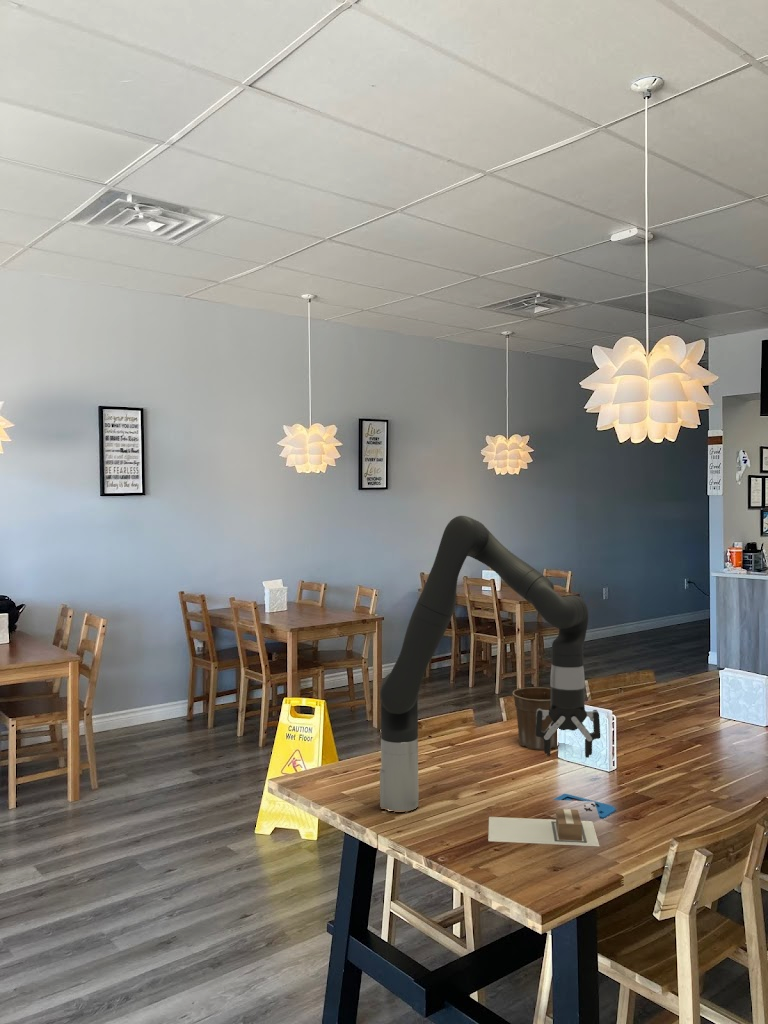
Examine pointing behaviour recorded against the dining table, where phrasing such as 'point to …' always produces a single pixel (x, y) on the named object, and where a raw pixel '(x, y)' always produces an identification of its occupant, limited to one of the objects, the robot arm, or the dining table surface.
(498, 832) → the mat
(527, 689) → the plant pot
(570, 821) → the card box
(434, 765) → the dining table surface
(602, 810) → the handheld gaming device
